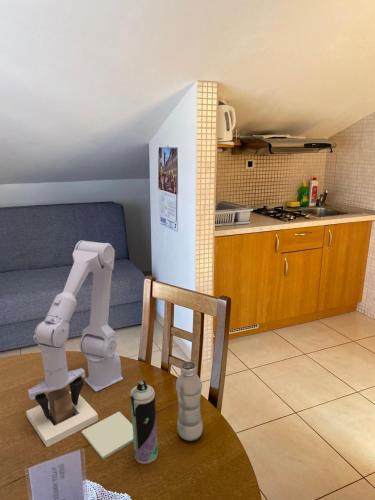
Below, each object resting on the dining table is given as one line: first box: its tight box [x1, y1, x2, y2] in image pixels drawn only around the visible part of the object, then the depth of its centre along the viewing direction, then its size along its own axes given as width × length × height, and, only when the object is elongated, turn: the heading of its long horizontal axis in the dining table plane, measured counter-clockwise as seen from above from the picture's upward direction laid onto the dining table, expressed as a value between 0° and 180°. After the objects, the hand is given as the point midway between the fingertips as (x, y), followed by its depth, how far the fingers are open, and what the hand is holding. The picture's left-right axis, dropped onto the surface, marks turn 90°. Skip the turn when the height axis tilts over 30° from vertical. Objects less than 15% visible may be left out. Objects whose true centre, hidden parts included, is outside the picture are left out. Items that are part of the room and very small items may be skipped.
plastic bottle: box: [175, 361, 204, 442], centre depth 96 cm, size 6×7×20 cm
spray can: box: [129, 380, 159, 465], centre depth 90 cm, size 6×6×20 cm
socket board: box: [25, 390, 99, 448], centre depth 105 cm, size 14×14×2 cm
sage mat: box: [81, 411, 134, 460], centre depth 99 cm, size 11×11×1 cm
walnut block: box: [46, 386, 75, 425], centre depth 104 cm, size 4×4×8 cm
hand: (61, 409), depth 104 cm, fingers open, 7 cm apart
